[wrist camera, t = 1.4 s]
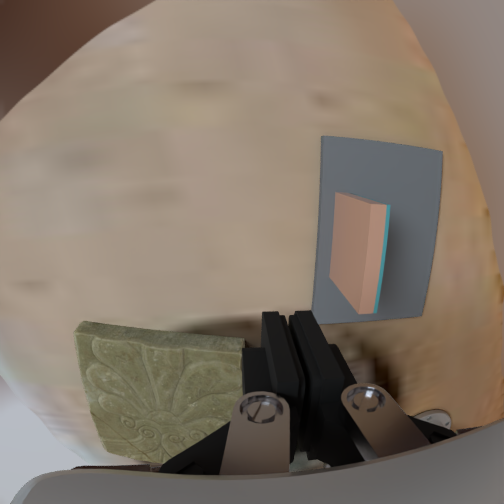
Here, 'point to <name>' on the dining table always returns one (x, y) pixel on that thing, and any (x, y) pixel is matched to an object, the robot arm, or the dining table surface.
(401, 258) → the rubber mat
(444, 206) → the dining table surface
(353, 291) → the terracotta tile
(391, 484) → the robot arm
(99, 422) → the decorative tile
